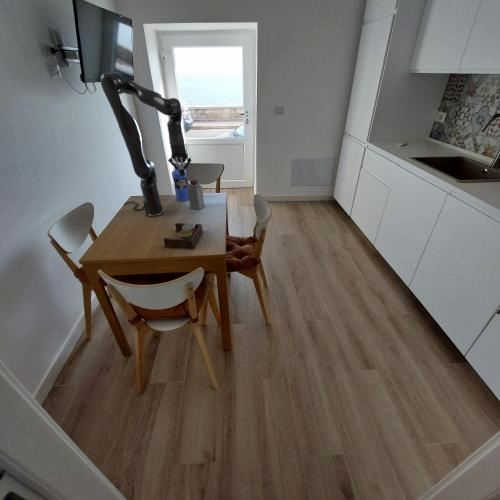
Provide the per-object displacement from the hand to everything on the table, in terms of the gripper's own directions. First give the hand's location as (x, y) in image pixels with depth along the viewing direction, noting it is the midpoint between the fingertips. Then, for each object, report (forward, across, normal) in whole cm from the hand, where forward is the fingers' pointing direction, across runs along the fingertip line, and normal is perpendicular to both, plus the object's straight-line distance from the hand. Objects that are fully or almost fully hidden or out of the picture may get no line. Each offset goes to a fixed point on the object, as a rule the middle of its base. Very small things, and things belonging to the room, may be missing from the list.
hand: (182, 175), depth 149 cm
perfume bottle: (+27, -1, -18) cm, 33 cm away
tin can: (+27, -4, +19) cm, 33 cm away
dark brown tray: (+27, -2, +23) cm, 35 cm away
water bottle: (+27, +12, -31) cm, 43 cm away
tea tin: (+27, -5, +27) cm, 39 cm away
